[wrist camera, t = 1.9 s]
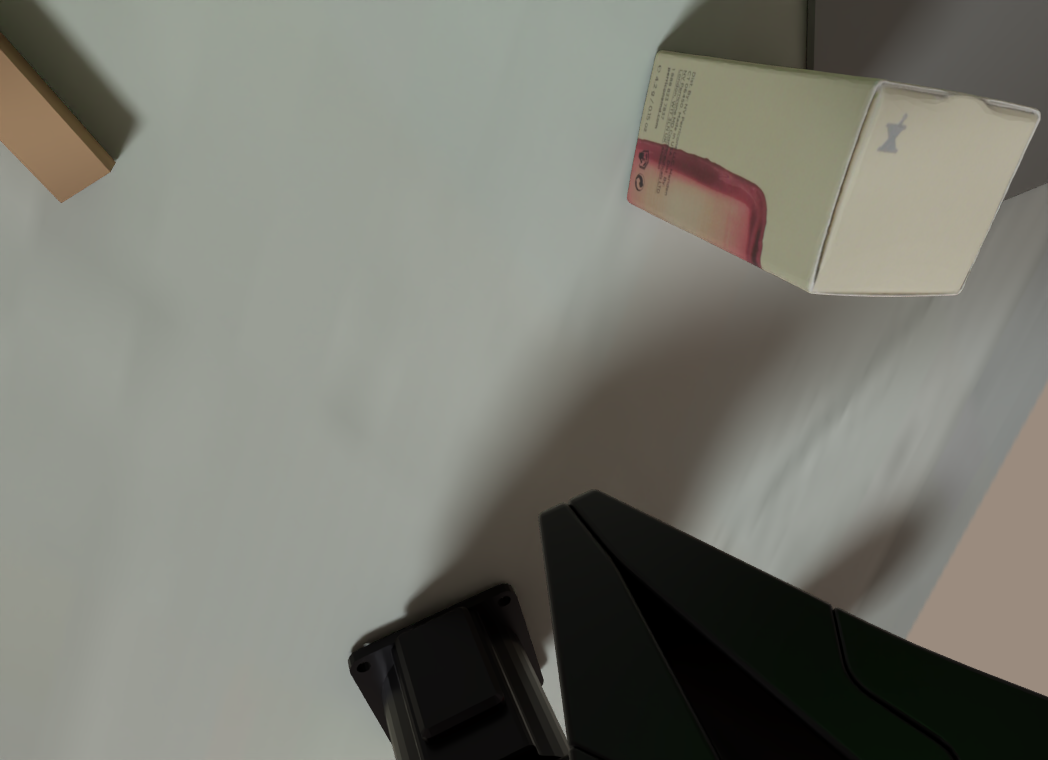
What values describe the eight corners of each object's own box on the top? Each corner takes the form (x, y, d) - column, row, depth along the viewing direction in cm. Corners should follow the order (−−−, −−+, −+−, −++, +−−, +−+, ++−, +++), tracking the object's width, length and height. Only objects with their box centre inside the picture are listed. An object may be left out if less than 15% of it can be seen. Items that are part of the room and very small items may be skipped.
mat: (1055, 174, 27) (1062, 176, 27) (801, 276, 25) (807, 279, 25) (1144, -219, 21) (1155, -222, 20) (811, -133, 18) (819, -134, 18)
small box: (619, 203, 21) (802, 301, 14) (653, 44, 19) (880, 76, 13) (753, 212, 23) (965, 302, 16) (795, 70, 21) (1054, 109, 15)
